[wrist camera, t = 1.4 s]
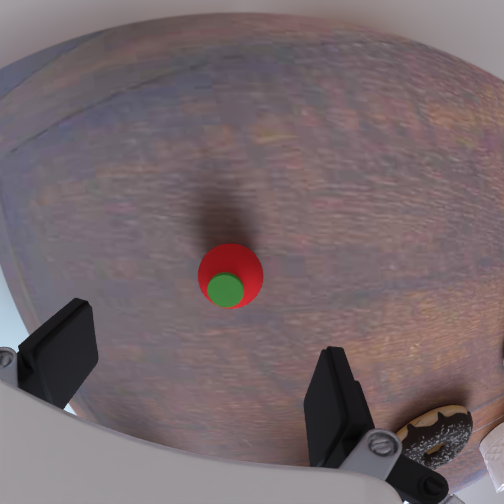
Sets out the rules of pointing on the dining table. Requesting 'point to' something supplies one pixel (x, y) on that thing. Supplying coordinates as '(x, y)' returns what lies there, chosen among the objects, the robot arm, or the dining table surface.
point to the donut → (437, 436)
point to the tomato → (230, 275)
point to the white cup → (494, 455)
